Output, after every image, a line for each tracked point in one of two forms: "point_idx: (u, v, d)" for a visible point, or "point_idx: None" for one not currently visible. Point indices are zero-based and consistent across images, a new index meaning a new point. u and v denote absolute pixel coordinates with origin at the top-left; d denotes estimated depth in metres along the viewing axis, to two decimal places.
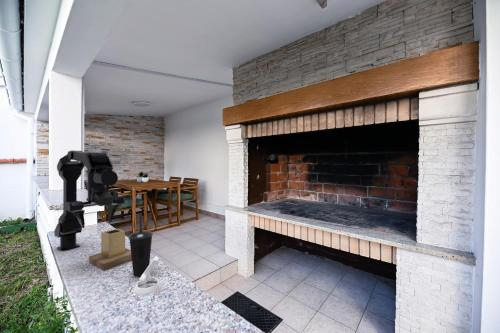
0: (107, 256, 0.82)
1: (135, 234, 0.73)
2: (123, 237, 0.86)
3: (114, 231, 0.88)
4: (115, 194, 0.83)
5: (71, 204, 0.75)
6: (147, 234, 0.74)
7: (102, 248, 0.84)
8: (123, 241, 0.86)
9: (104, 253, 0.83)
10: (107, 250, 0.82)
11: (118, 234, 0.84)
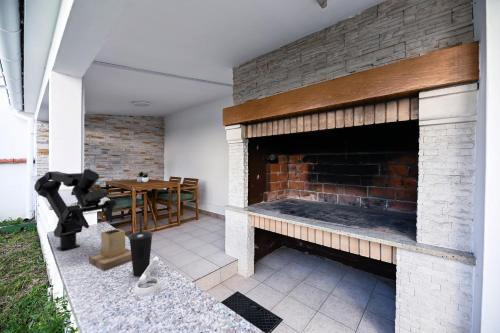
0: (107, 256, 0.82)
1: (135, 234, 0.73)
2: (123, 237, 0.86)
3: (114, 231, 0.88)
4: (103, 190, 0.93)
5: (68, 206, 0.83)
6: (147, 234, 0.74)
7: (102, 248, 0.84)
8: (123, 241, 0.86)
9: (104, 253, 0.83)
10: (107, 250, 0.82)
11: (118, 234, 0.84)
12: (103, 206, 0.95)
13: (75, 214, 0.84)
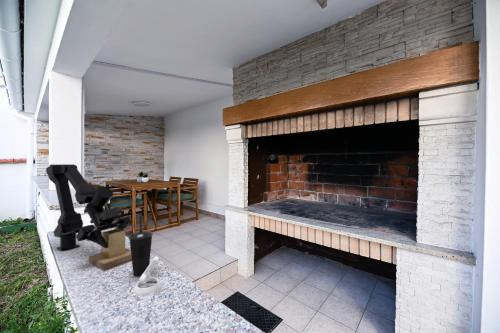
0: (107, 256, 0.82)
1: (135, 234, 0.73)
2: (123, 237, 0.86)
3: (114, 231, 0.88)
4: (117, 207, 0.89)
5: (82, 227, 0.79)
6: (147, 234, 0.74)
7: (102, 248, 0.84)
8: (123, 241, 0.86)
9: (104, 253, 0.83)
10: (107, 250, 0.82)
11: (118, 234, 0.84)
12: None
13: (93, 234, 0.81)
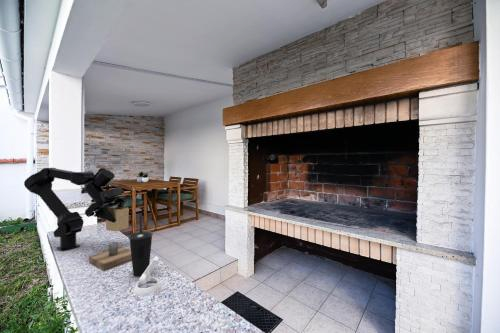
0: (115, 229, 0.92)
1: (135, 234, 0.73)
2: (127, 213, 0.97)
3: (116, 208, 0.97)
4: (119, 187, 0.99)
5: (92, 203, 0.87)
6: (147, 234, 0.74)
7: (107, 223, 0.93)
8: (127, 216, 0.97)
9: (110, 227, 0.93)
10: (115, 224, 0.92)
11: (124, 210, 0.95)
12: (116, 203, 1.00)
13: (102, 210, 0.90)
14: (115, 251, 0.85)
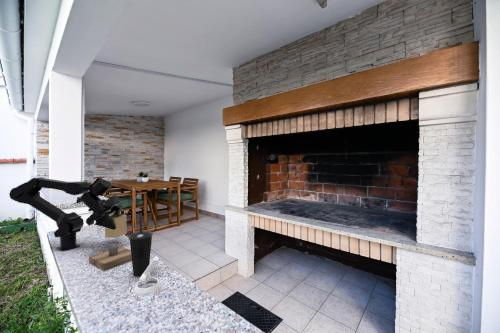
0: (115, 236, 0.97)
1: (135, 234, 0.73)
2: (125, 220, 1.02)
3: (114, 216, 1.01)
4: (115, 196, 1.03)
5: (94, 212, 0.91)
6: (147, 234, 0.74)
7: (106, 230, 0.97)
8: (125, 223, 1.02)
9: (110, 234, 0.97)
10: (115, 231, 0.97)
11: (123, 217, 1.00)
12: (112, 211, 1.04)
13: (102, 218, 0.94)
14: (115, 251, 0.85)
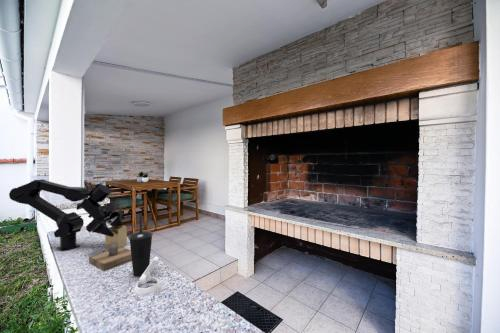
0: None
1: (135, 234, 0.73)
2: (125, 231, 1.02)
3: (114, 227, 1.01)
4: (115, 202, 1.03)
5: (94, 219, 0.91)
6: (147, 234, 0.74)
7: (107, 242, 0.97)
8: (125, 234, 1.02)
9: None
10: (116, 242, 0.97)
11: (123, 228, 1.00)
12: (112, 217, 1.04)
13: (100, 225, 0.93)
14: (115, 251, 0.85)
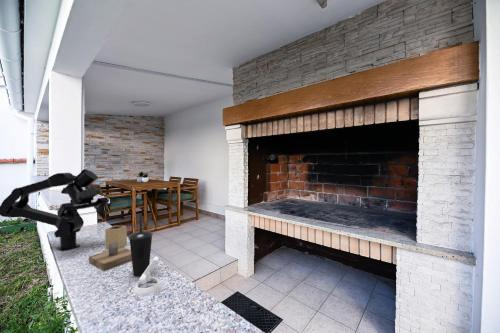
0: None
1: (135, 234, 0.73)
2: (125, 231, 1.02)
3: (114, 227, 1.01)
4: None
5: (62, 204, 0.88)
6: (147, 234, 0.74)
7: (107, 242, 0.97)
8: (125, 234, 1.02)
9: None
10: (116, 242, 0.97)
11: (123, 228, 1.00)
12: (96, 203, 1.01)
13: (70, 211, 0.89)
14: (115, 251, 0.85)
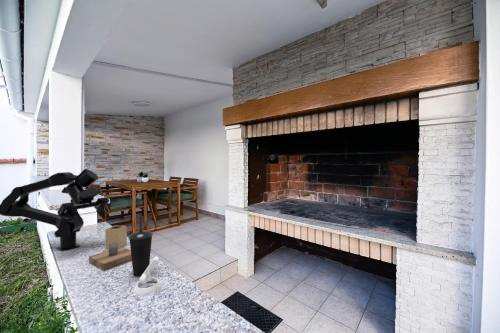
0: None
1: (135, 234, 0.73)
2: (125, 231, 1.02)
3: (114, 227, 1.01)
4: None
5: (63, 203, 0.88)
6: (147, 234, 0.74)
7: (107, 242, 0.97)
8: (125, 234, 1.02)
9: None
10: (116, 242, 0.97)
11: (123, 228, 1.00)
12: (96, 203, 1.01)
13: (70, 211, 0.89)
14: (115, 251, 0.85)
